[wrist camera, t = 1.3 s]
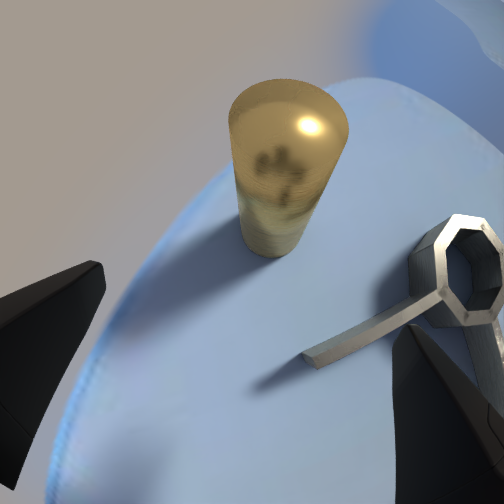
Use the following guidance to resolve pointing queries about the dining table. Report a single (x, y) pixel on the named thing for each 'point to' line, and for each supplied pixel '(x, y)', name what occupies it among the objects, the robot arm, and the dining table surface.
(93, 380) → the dining table surface
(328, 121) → the hinge pin
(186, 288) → the dining table surface
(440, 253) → the grey ring with arms
